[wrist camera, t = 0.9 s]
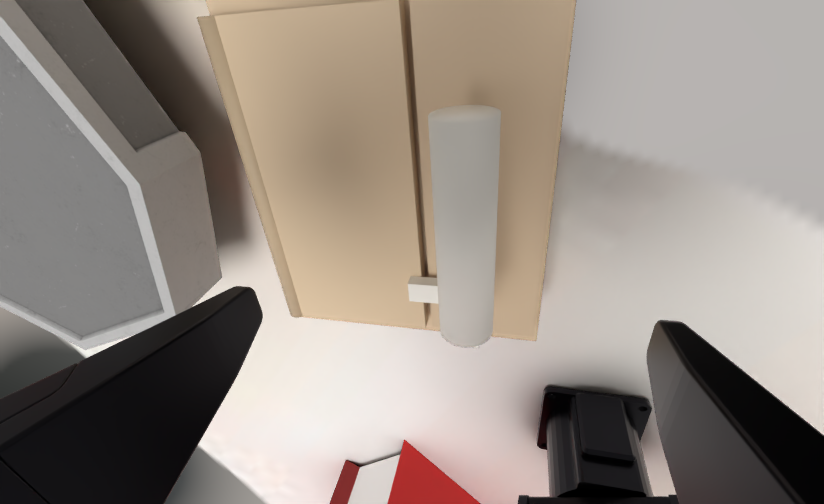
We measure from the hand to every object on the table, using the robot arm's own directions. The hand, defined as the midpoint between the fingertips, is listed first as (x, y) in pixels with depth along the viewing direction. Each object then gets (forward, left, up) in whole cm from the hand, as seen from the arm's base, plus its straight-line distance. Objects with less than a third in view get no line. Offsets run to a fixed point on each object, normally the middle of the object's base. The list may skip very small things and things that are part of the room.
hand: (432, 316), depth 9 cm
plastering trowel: (-1, +4, -9) cm, 10 cm away
